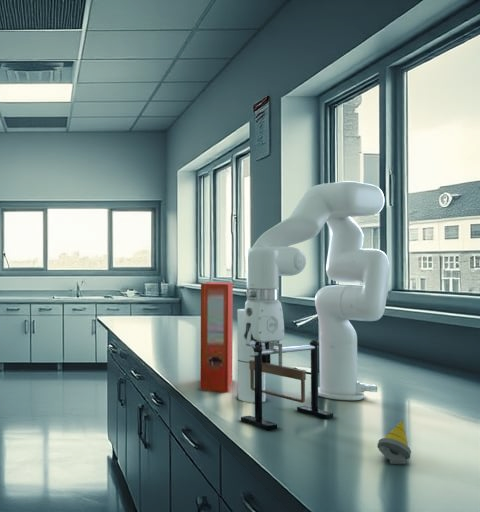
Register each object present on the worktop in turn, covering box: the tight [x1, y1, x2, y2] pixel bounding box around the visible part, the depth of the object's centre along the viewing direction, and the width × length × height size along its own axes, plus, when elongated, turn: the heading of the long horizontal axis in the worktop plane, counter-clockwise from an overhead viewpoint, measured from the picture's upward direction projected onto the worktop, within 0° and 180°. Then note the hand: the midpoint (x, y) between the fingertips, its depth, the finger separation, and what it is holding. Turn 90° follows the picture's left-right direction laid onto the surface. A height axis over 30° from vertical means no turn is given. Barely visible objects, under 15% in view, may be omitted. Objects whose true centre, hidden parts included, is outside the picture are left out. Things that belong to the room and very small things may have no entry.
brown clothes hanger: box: [249, 342, 307, 404], centre depth 132 cm, size 1×15×13 cm, turn 27°
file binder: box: [199, 281, 234, 393], centre depth 171 cm, size 8×17×32 cm, turn 156°
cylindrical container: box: [236, 308, 266, 403], centre depth 154 cm, size 7×7×25 cm
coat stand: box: [240, 339, 334, 432], centre depth 133 cm, size 23×8×19 cm, turn 117°
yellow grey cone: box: [377, 420, 412, 465], centre depth 106 cm, size 5×5×10 cm
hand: (263, 368), depth 138 cm, fingers closed
